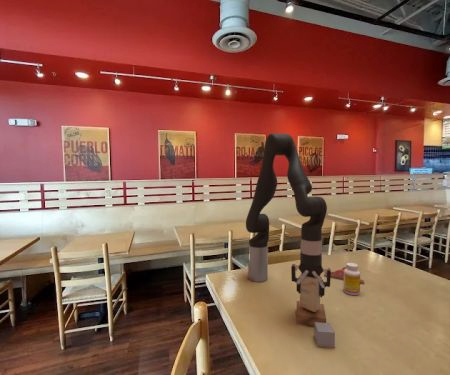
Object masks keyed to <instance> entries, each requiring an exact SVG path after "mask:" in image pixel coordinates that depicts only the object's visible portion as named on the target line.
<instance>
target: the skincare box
mask: <svg viewBox="0 0 450 375" xmlns="http://www.w3.org/2000/svg"><path fill="white" fill-rule="evenodd" d="M319 277H320V278H321V277H322V275H320V276H319ZM320 287H321V285H320V284H319V283H318V279H317V278H315V277H308V276H305V277H304V279H303V280H302V281H301V285H300V294H299V301H300V306H301V307H303V308H306V309H308V310H310V311H313V312H316V311H317V310H318V309H319V308H320V304H321V297H320Z"/></svg>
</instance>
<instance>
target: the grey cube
mask: <svg viewBox="0 0 450 375" xmlns="http://www.w3.org/2000/svg"><path fill="white" fill-rule="evenodd" d="M314 339H315V341H316V344H317V347H318V346H323V347H322V348H331V347H335V346H336V344H335V343H336V332H335V329H334V328H333V326H332V323H330V322H326V323H319V322H315V327H314Z"/></svg>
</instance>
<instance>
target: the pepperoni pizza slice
mask: <svg viewBox="0 0 450 375" xmlns="http://www.w3.org/2000/svg"><path fill="white" fill-rule="evenodd" d="M346 268H347V267H346V266H345V267H342V268H339V269H337V270H335V271H331V279H333V280H340V281H343V282H344V270H345V269H346ZM323 276H324V277H325V278H327V276H326V275H325V273H324V274H323ZM364 284H365V279H364V280H363V279H360V285H364Z"/></svg>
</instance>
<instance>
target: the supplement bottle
mask: <svg viewBox="0 0 450 375" xmlns="http://www.w3.org/2000/svg"><path fill="white" fill-rule="evenodd" d="M345 267H347V268H346V269H345V270H344V281H343V292H344V293H346V294H347V295H351V296H358V295H360V293H361V284H360V280H361V272H360V270H359V265H358V264H357V263H355V262H347V263H346V266H345Z"/></svg>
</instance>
